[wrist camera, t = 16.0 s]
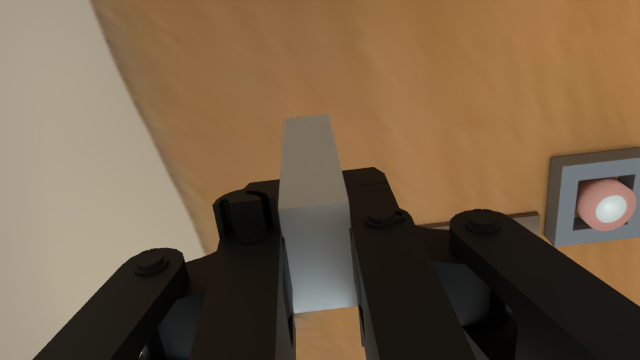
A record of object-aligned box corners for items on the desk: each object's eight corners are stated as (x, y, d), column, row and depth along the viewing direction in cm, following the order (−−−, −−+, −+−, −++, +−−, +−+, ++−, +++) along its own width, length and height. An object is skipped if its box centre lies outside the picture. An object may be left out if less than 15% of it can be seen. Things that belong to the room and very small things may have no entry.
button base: (550, 157, 50) (562, 166, 47) (640, 147, 50) (656, 155, 47) (543, 235, 53) (554, 247, 51) (626, 225, 53) (641, 236, 51)
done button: (571, 176, 50) (588, 188, 47) (621, 170, 50) (640, 182, 47) (566, 219, 52) (582, 234, 49) (614, 213, 52) (632, 228, 49)
